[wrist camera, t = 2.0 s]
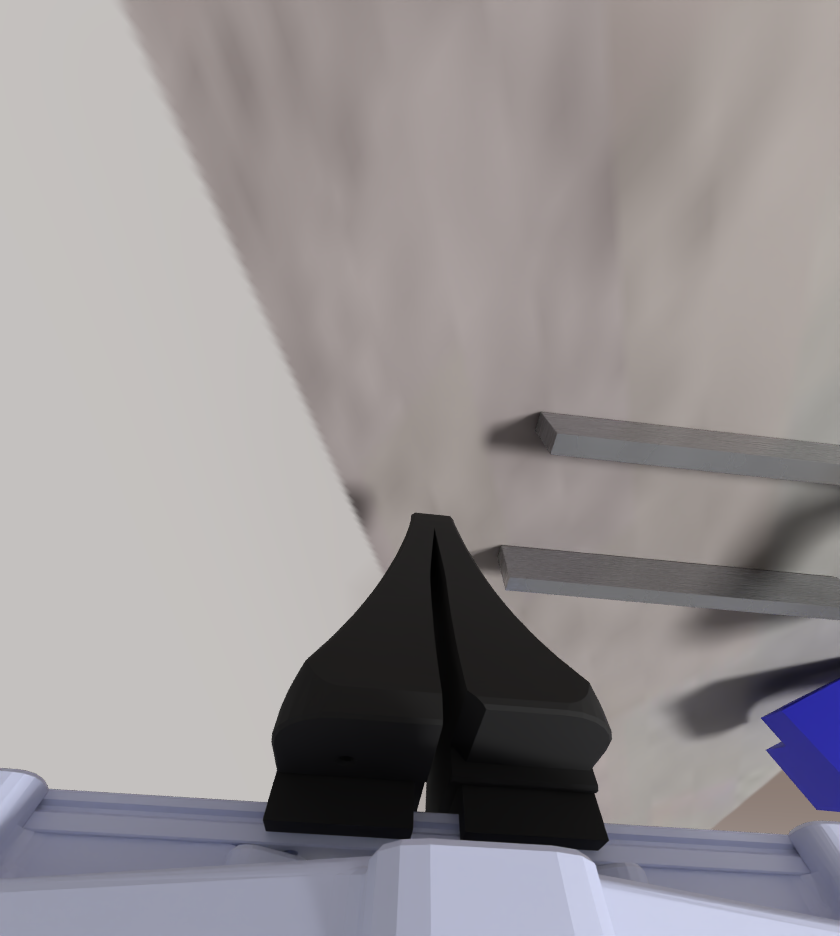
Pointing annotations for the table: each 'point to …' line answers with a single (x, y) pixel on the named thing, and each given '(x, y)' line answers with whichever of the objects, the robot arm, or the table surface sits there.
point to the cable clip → (810, 744)
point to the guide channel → (666, 577)
